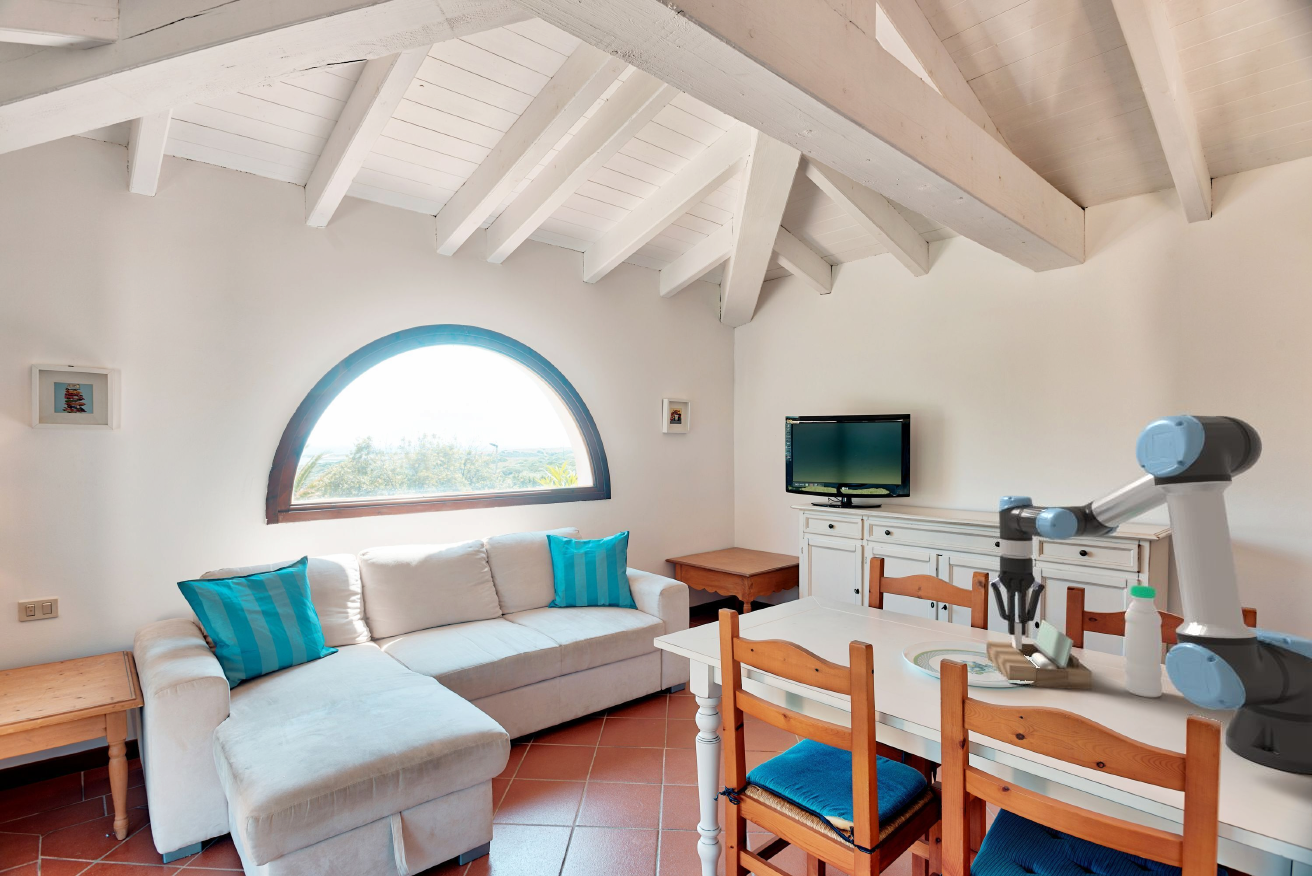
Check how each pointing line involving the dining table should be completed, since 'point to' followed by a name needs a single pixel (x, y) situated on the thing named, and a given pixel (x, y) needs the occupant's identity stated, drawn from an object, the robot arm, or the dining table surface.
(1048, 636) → the cover
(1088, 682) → the wooden tray
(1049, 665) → the white rounded cylinder
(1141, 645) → the water bottle
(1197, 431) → the robot arm
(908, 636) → the dining table surface
